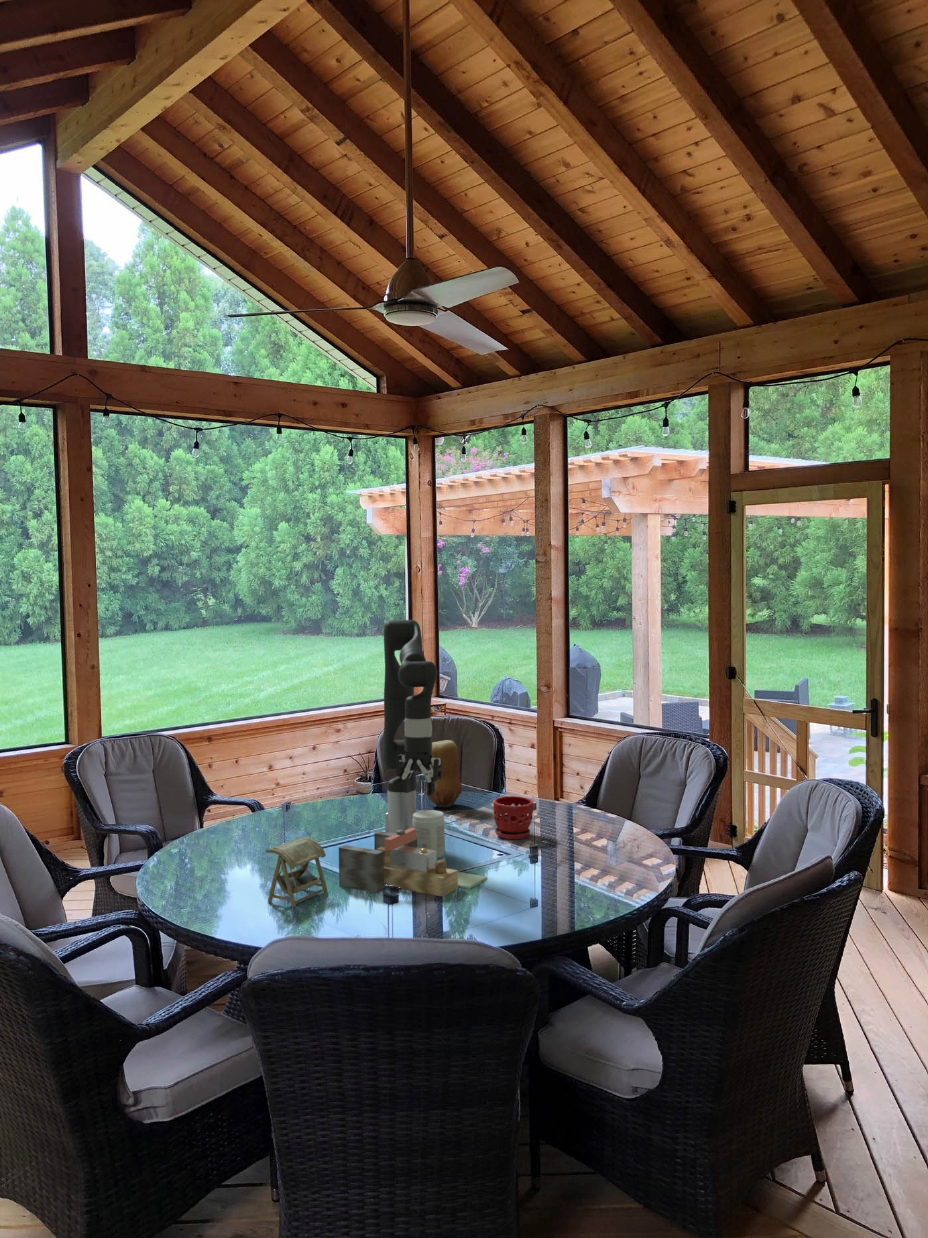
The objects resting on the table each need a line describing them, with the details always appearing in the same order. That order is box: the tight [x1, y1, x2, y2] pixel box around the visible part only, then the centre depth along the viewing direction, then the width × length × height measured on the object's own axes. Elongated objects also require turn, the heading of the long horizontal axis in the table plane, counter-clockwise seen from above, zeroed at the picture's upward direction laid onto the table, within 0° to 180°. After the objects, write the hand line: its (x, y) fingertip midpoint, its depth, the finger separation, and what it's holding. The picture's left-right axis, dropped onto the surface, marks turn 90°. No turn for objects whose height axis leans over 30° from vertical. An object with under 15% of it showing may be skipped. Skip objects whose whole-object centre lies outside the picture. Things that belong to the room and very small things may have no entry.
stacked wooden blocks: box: [338, 830, 459, 897], centre depth 267 cm, size 30×20×11 cm, turn 60°
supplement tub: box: [413, 809, 446, 861], centre depth 287 cm, size 10×10×15 cm
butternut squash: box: [426, 739, 463, 808], centre depth 357 cm, size 14×13×25 cm
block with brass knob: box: [390, 845, 436, 873], centre depth 265 cm, size 12×5×6 cm, turn 60°
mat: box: [458, 871, 488, 890], centre depth 269 cm, size 10×10×1 cm
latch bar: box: [384, 828, 417, 851], centre depth 267 cm, size 2×13×4 cm, turn 150°
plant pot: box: [492, 795, 534, 840], centre depth 316 cm, size 13×13×12 cm
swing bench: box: [265, 836, 328, 908], centre depth 256 cm, size 15×10×15 cm, turn 152°
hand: (418, 793), depth 263 cm, fingers open, 7 cm apart
